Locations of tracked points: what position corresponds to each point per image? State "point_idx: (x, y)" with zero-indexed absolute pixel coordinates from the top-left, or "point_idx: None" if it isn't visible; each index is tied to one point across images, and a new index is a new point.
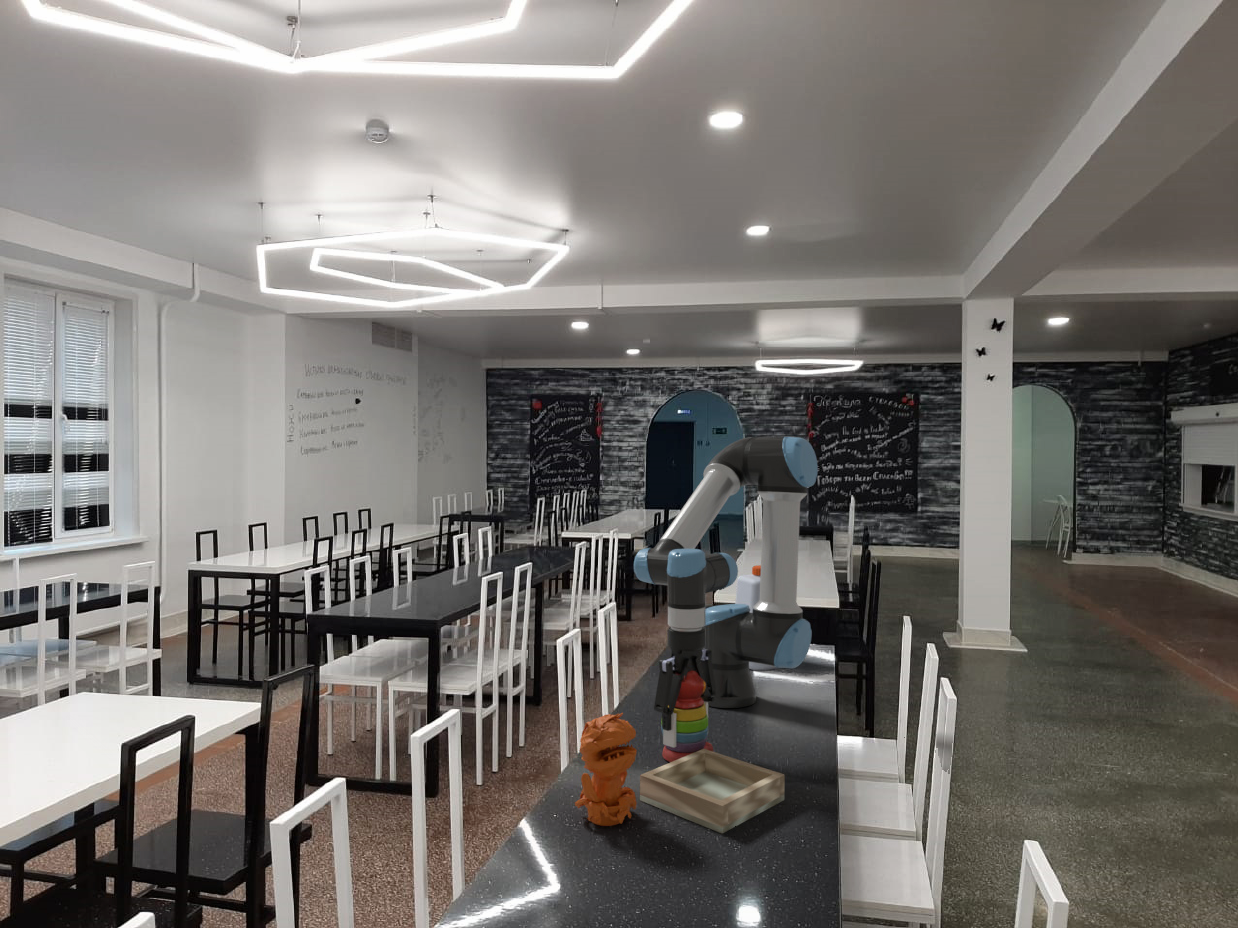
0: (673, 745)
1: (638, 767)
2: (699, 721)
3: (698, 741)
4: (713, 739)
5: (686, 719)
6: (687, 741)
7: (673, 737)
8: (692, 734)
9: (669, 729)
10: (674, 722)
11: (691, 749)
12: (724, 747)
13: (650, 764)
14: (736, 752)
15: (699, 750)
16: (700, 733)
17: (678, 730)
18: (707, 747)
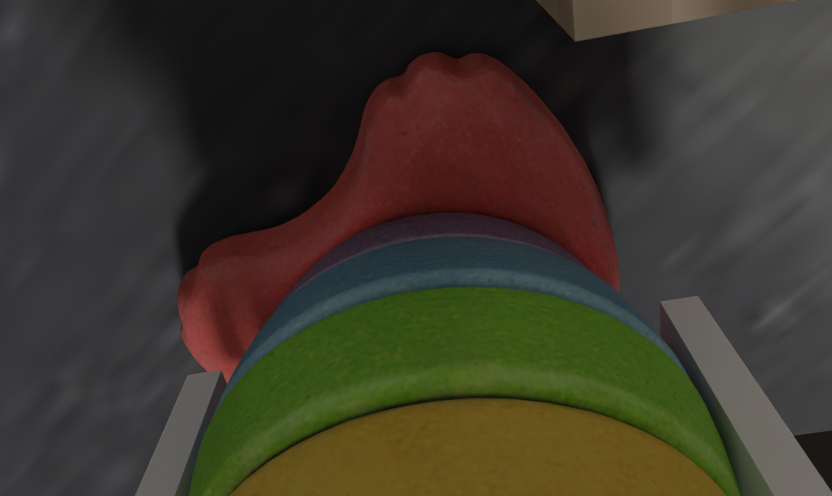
0: (705, 309)
1: (825, 336)
2: (477, 369)
3: (466, 236)
4: (47, 427)
5: (674, 457)
6: (591, 274)
7: (736, 359)
8: (569, 286)
9: (813, 440)
10: (809, 484)
11: (521, 228)
12: (50, 290)
13: (723, 332)
14: (10, 167)
15: (663, 24)
16: (457, 267)
17: (700, 397)
18: (268, 265)
